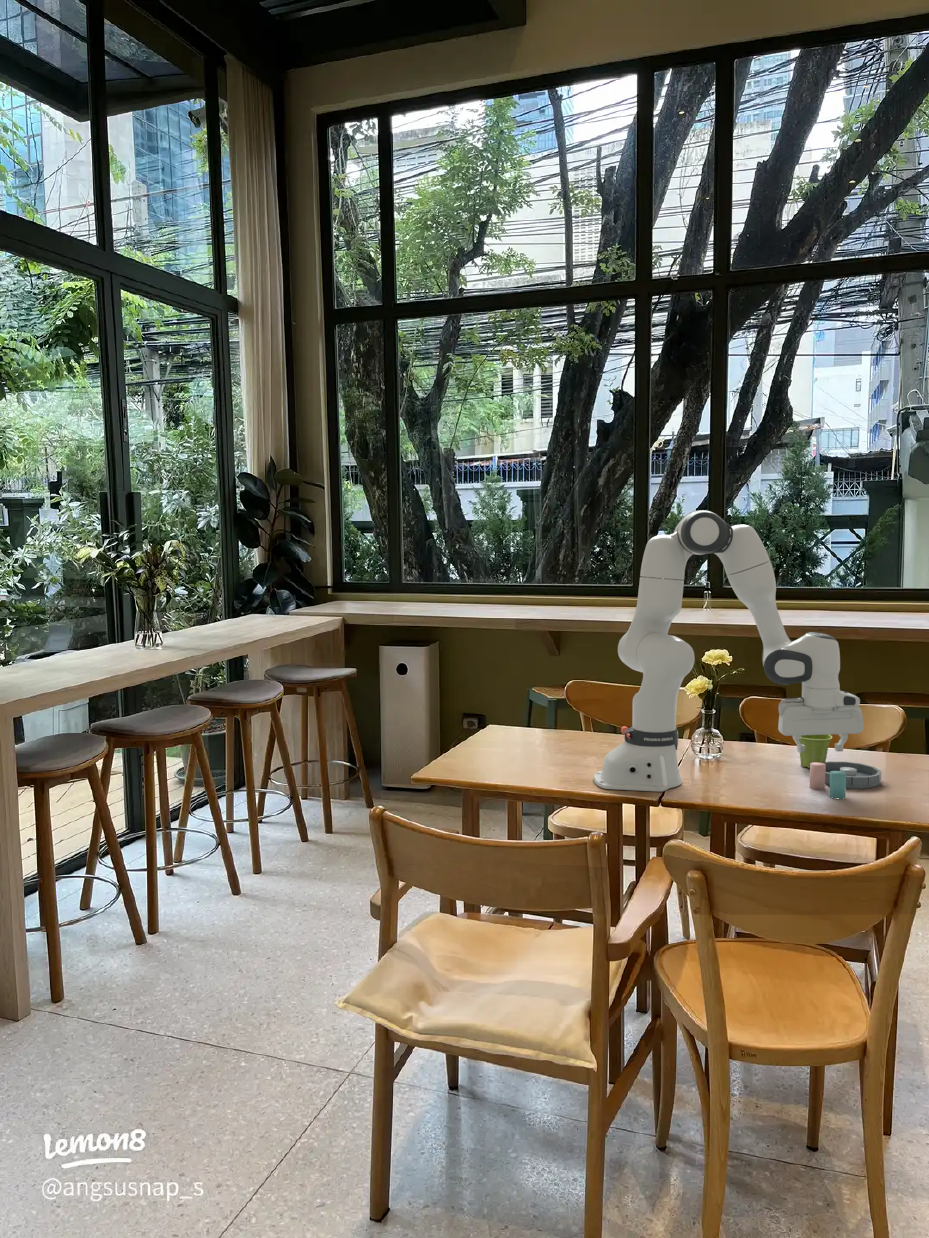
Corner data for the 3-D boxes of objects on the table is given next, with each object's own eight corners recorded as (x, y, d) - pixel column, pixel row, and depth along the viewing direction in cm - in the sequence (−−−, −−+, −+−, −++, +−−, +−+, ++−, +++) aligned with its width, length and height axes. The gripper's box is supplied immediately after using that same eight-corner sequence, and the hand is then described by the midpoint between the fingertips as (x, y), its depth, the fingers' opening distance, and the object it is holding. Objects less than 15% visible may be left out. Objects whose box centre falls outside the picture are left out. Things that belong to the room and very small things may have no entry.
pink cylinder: (812, 789, 228) (813, 766, 227) (807, 785, 231) (808, 762, 231) (827, 789, 228) (827, 766, 227) (821, 785, 231) (822, 762, 231)
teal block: (832, 799, 220) (833, 774, 219) (827, 794, 223) (827, 770, 223) (847, 799, 220) (848, 774, 219) (842, 794, 223) (842, 770, 223)
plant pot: (826, 762, 253) (827, 731, 252) (835, 771, 244) (836, 739, 243) (791, 761, 255) (792, 731, 254) (799, 770, 245) (799, 738, 244)
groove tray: (829, 789, 228) (829, 777, 228) (807, 772, 243) (808, 761, 243) (890, 788, 227) (891, 777, 227) (865, 772, 243) (865, 761, 242)
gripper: (782, 701, 224) (782, 755, 226) (866, 698, 224) (865, 753, 225) (774, 696, 231) (774, 749, 232) (855, 693, 230) (855, 747, 232)
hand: (820, 751), depth 229 cm, fingers open, 8 cm apart
